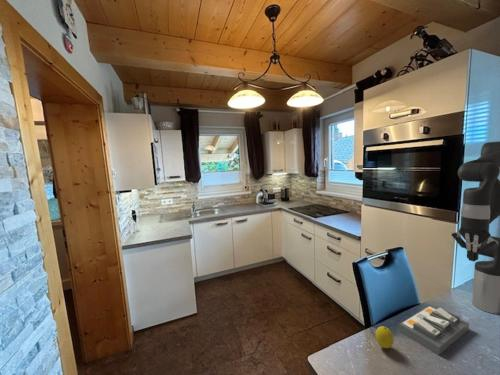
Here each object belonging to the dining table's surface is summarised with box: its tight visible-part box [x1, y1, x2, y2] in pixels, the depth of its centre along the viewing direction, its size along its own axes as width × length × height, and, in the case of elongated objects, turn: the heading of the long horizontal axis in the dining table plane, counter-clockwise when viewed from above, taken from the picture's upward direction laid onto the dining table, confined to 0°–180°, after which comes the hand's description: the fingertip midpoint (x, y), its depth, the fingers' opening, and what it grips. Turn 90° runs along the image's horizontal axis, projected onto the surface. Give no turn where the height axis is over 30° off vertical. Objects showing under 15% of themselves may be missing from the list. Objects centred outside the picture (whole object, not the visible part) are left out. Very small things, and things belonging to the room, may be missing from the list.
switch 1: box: [417, 319, 440, 336], centre depth 82 cm, size 4×6×1 cm, turn 27°
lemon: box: [375, 325, 394, 349], centre depth 79 cm, size 6×6×8 cm
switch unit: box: [398, 304, 470, 356], centre depth 86 cm, size 24×13×5 cm, turn 117°
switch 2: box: [435, 307, 457, 323], centre depth 88 cm, size 4×6×1 cm, turn 27°
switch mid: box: [427, 316, 449, 327], centre depth 85 cm, size 4×6×1 cm, turn 27°
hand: (472, 260), depth 83 cm, fingers closed
